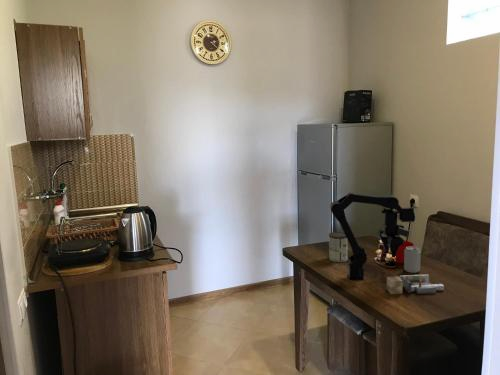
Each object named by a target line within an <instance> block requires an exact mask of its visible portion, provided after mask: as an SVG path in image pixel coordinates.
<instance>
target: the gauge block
mask: <svg viewBox="0 0 500 375" xmlns="http://www.w3.org/2000/svg"><path fill="white" fill-rule="evenodd" d="M386 290H387V291H388V293H389V294H390V295H402V294H403V287H402V280H401V279H400V276H386Z"/></svg>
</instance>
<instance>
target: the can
mask: <svg viewBox="0 0 500 375" xmlns="http://www.w3.org/2000/svg"><path fill="white" fill-rule="evenodd" d="M403 269H404V270H405V272H407V273H410V274H417V273H419V272H420V270H421V251H420V248H419V247H417V246H414V247H413V246H409V247H406V249H405V252H404V264H403Z"/></svg>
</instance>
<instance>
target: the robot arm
mask: <svg viewBox="0 0 500 375" xmlns="http://www.w3.org/2000/svg"><path fill="white" fill-rule="evenodd" d="M352 203H358V204H359V203H360V204H361V203H362V204H368V205H378V206H380V207H383V208H382V209H380V211H379V212H380V213H381V214H384V218H383V219H384V222H383V223H382V226H383V228H379V229H378V230H377V234H378V237H379V239H380V241H381V243H382V246H383V248H384V250H385V252H389V251H388V249H389V248H390V251H391V254H392V257H395V255H396V253H397V250H398V248H399V247H400V246H402V245H403V244H404V241H405V239H404V238H408V237H409V235H410V230H409V229H407V228H405V226H404V225H402V224H398V221H400V222H401V223H414V222H415V221H416V214H415V211H414V209H415V208H414V207H411V206H410V207H402V206H401V205H400V201H399V199H398V198H397V197H396V196H394V195H392V194H383V195H373V194H372V195H370V194H361V193H354V192H348V193H347V194H346V195H344V196H343V197H340V198H339V199H338V200H334V201H332V202H331V203H330V206H329V208H330V211H331V213H332V214H333V216H334V217H335V219H336V220H337V221H338V222H339V225H340V227H341V229H342V232H344V233H345V235H346V237H347V239H348V243H349V244H348V245H350V249H351V255H350V256H349V257H348V261H349V263H348V264H347V265H348V267H347V268H348V270H347V272H348V274H347V277H348V279H350V280H351V281H354V280H364V276H365V269H364V267H363V266H364V264H366V263H367V260H368V257H367V256H368V253H367V252H366V250H365V248H364V245H363V244H359V243H358V241H357V239H356V237H355V235H354V232H353V231H352V228H351V226H350V224H349V222H348V221H347V216H346V213H345V210H346V209H347V208H348V207H350V206H351V204H352ZM401 236H403V237H404V238H402V237H401Z"/></svg>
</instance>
